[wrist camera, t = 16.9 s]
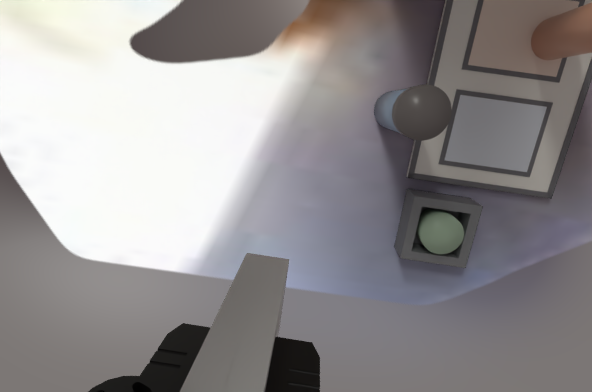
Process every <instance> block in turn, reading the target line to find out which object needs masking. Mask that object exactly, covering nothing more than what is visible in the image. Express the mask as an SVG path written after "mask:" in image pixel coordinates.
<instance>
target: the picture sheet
mask: <svg viewBox="0 0 592 392" xmlns="http://www.w3.org/2000/svg"><path fill="white" fill-rule="evenodd" d="M591 2H592V0H445V4H444V8H443V13H442V17H441V22H440V26H439V31H438V35H437V40H436V44H435V49H434V53H433V58H432V62H431V67H430V71H429V76H428V80H427V85H433V86H436V87H438V88H440V89H441V90H443V91H444V92H445V93H446V95H447V96H448V98H449V100H450V102H451V108H452V112H451V118H450V121H449V123H448V125H447V127H446V128H445V129H444V131H443V132H442V133H440V134H439V135H438V136H436V137H434V138H432V139H429V140H424V141H419V140H414V144H413V148H412V153H411V157H410V162H409V166H408V171H407V175H406V177H408V178H413V179H420V180H427V181H434V182H441V183H447V184H454V185H461V186H468V187H475V188H482V189H489V190H495V191H502V192H509V193H516V194H523V195H530V196H536V197H543V198H550V199H552V196H553V193H554V190H555V187H556V184H557V181H558V178H559V175H560V172H561V169H562V166H563V163H564V160H565V157H566V154H567V151H568V148H569V145H570V142H571V139H572V136H573V133H574V130H575V127H576V124H577V121H578V118H579V115H580V112H581V109H582V106H583V103H584V100H585V97H586V94H587V91H588V88H589V85H590V82H591V79H592V53H587V54H581V55H576V56H571V57H565V58H560V59H555V60H543V59H541V58H539V57H537V56H536V55H535V54H534V52H533V50H532V47H531V38H532V35H533V32H534V30H535V29H536V27H537V26H538V25H539V24H540V23H541V22H543V21H544V20H546V19H548V18H551V17H554V16H556V15H559V14H562V13H564V12H567V11H570V10H573V9H575V8H578V7H581V6H583V5H586V4H589V3H591Z"/></svg>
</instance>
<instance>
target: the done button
mask: <svg viewBox="0 0 592 392" xmlns="http://www.w3.org/2000/svg"><path fill="white" fill-rule="evenodd" d="M416 235H417V237H418V238H419V239H420V241H421V242H422V243H423V245H424V246H425V247H426V248H427V249H428V250H429V251H430V252H432V253H435V254H447V253H450V252H452V251H454V250H455V249H457V248H458V247H459V245H460V244H461V242H462V240H463V237H464V230H463V226H462V225H461V223H460V222H459V221H458V220H457V219H456V218H455V217H454V216H452V215H451V214H450V213H449V212H448V211H446V210H442V209H435V208H431V209H428V210H425V211H424V212H422V213H421V214H420V217H419V221H418V226H417V230H416Z"/></svg>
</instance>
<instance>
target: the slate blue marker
mask: <svg viewBox="0 0 592 392" xmlns="http://www.w3.org/2000/svg"><path fill="white" fill-rule="evenodd" d="M451 112H452V108H451V102H450V100H449V98H448V96H447V95H446V93H445V92H444V91H443V90H441V89H440V88H438V87H436V86H433V85H418V86H413V87H410V88H408V89H402V90H397V91H391V92H387V93H385V94H383V95H382V96H381V97H380V98H379V99H378V100H377V102H376V104H375V107H374V115H375V118H376V120H377V122H378V123H379V124H380V125H381V126H383V127H385V128H387V129H390V130H393V131H396V132H398V133H401V134H402V135H404V136H406V137H408V138H411V139H414V140H419V141H424V140H429V139H432V138H434V137H436V136H438V135H439V134H440V133H442V132H443V131H444V129H445V128H446V127H447V125H448V123H449V121H450V118H451Z"/></svg>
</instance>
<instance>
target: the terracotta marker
mask: <svg viewBox="0 0 592 392" xmlns="http://www.w3.org/2000/svg"><path fill="white" fill-rule="evenodd" d="M531 47H532V50H533V52H534V54H535V55H536V56H537V57H539V58H541V59H543V60H555V59H560V58H565V57H571V56H576V55H581V54H587V53H592V2H591V3H589V4H586V5H583V6H581V7H578V8H575V9H573V10H570V11H567V12H564V13H562V14H559V15H556V16H554V17H551V18H548V19H546V20H544V21H543V22H541V23H540V24H539V25H538V26H537V27H536V29H535V30H534V32H533V35H532V38H531Z"/></svg>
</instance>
